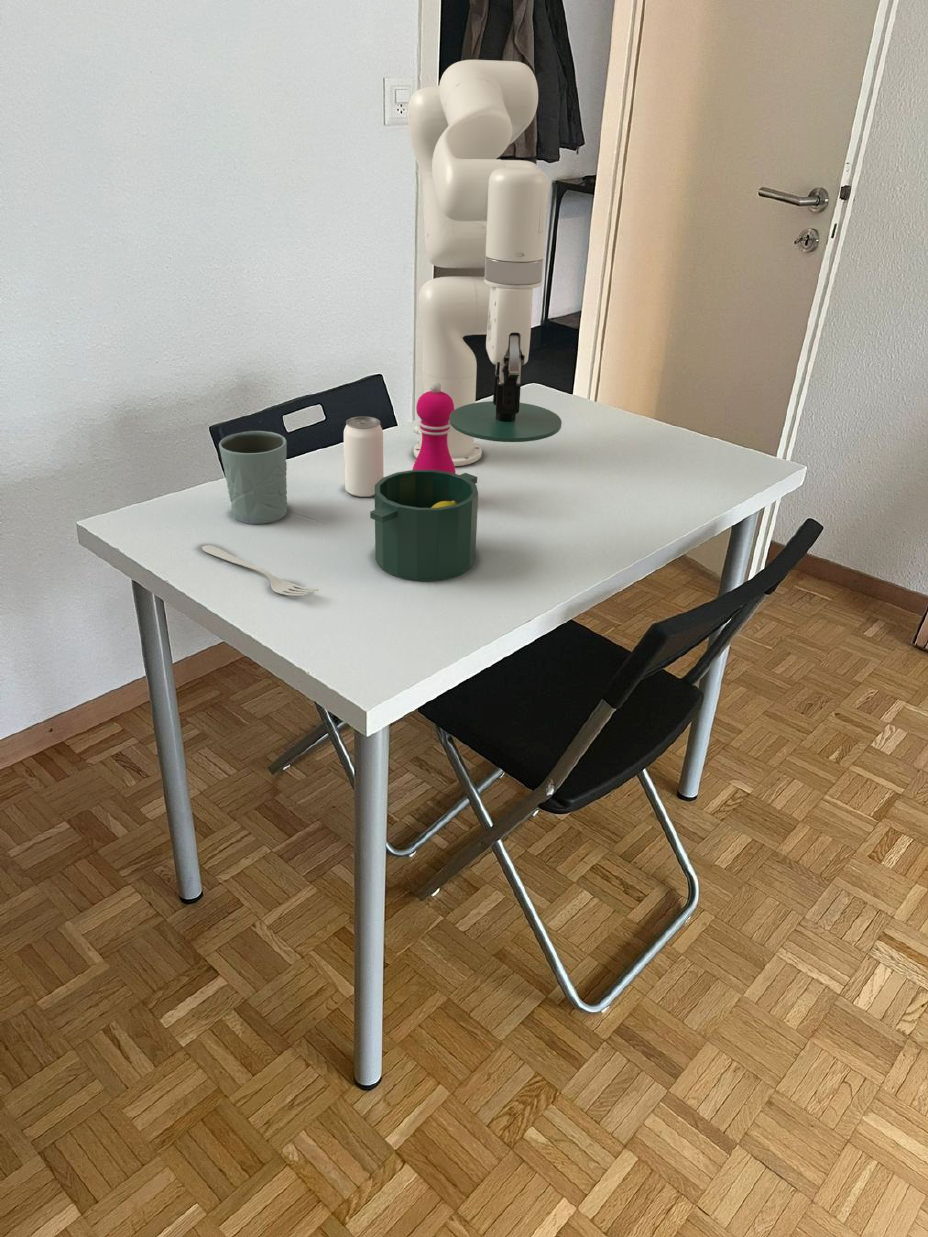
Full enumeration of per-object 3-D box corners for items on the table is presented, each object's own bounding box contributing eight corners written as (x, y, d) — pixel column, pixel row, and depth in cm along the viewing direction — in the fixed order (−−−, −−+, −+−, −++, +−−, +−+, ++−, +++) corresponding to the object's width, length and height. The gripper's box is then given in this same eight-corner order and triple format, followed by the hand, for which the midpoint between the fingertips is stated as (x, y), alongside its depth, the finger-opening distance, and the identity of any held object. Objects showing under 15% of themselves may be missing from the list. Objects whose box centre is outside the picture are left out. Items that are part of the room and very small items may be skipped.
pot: (341, 564, 141) (339, 494, 136) (433, 523, 155) (435, 457, 149) (415, 598, 133) (415, 525, 128) (505, 551, 147) (510, 483, 141)
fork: (212, 543, 146) (211, 532, 145) (321, 599, 132) (320, 588, 131) (194, 550, 144) (193, 539, 143) (303, 608, 130) (302, 596, 129)
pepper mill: (402, 499, 162) (403, 381, 152) (433, 488, 167) (435, 372, 157) (433, 513, 158) (436, 392, 148) (464, 500, 163) (468, 382, 153)
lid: (426, 426, 137) (426, 379, 134) (496, 401, 148) (498, 357, 144) (515, 455, 128) (518, 405, 125) (582, 427, 139) (587, 380, 136)
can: (353, 500, 161) (352, 430, 155) (339, 486, 166) (337, 418, 160) (389, 494, 164) (389, 425, 158) (374, 480, 169) (373, 413, 163)
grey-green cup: (300, 519, 154) (296, 446, 148) (238, 531, 150) (232, 457, 144) (276, 496, 162) (271, 426, 156) (217, 507, 157) (209, 436, 151)
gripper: (479, 259, 134) (474, 390, 143) (491, 284, 120) (484, 428, 129) (533, 260, 135) (524, 391, 144) (551, 285, 121) (540, 428, 130)
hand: (505, 407), depth 137 cm, fingers closed on lid, 2 cm apart
